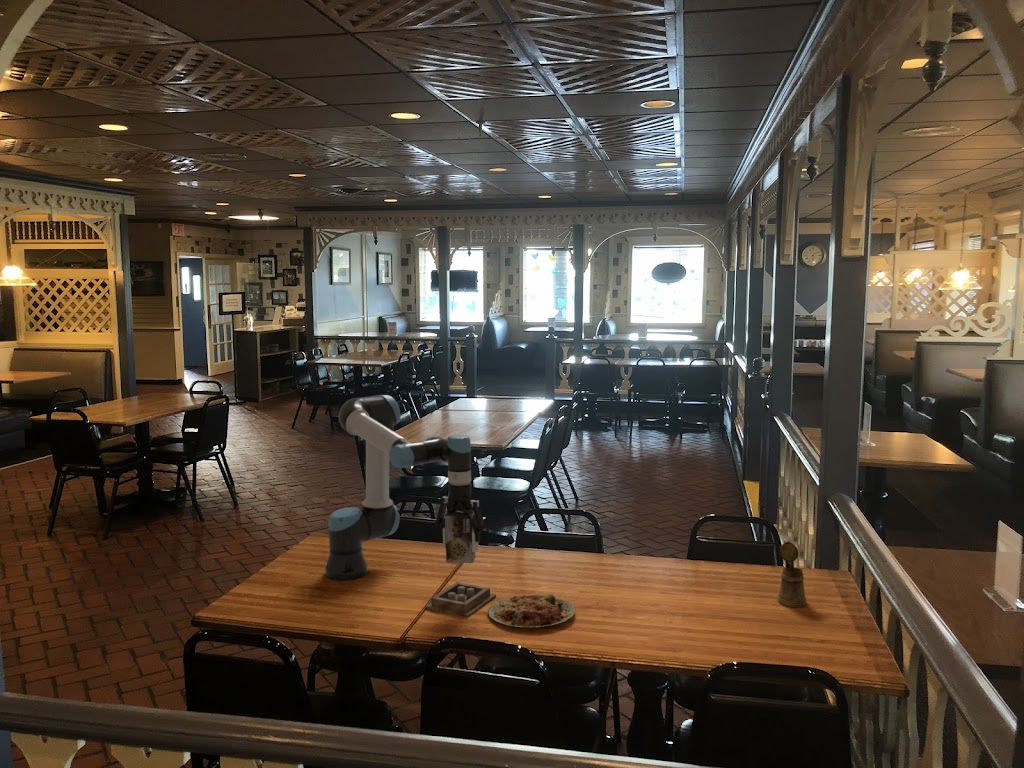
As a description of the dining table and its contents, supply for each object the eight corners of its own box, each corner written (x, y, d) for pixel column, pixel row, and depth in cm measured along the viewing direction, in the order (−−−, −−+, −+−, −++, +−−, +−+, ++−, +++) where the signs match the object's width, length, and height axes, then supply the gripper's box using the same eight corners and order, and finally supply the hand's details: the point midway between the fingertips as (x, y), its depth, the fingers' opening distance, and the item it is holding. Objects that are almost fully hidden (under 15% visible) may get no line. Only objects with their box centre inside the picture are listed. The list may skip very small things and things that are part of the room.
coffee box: (475, 557, 263) (475, 510, 261) (473, 563, 257) (472, 515, 255) (448, 556, 264) (448, 509, 262) (445, 563, 258) (444, 514, 256)
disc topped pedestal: (799, 592, 269) (801, 541, 267) (809, 608, 256) (811, 554, 254) (772, 591, 270) (774, 540, 268) (780, 607, 257) (782, 553, 255)
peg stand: (425, 608, 257) (424, 597, 257) (455, 588, 274) (455, 578, 274) (467, 617, 250) (467, 605, 250) (496, 596, 267) (496, 586, 266)
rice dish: (476, 609, 260) (475, 593, 259) (551, 592, 271) (550, 577, 270) (509, 643, 235) (508, 626, 234) (591, 623, 245) (590, 607, 245)
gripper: (423, 481, 259) (425, 547, 262) (484, 489, 249) (485, 557, 251) (436, 476, 266) (437, 540, 268) (496, 483, 255) (496, 550, 258)
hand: (460, 548), depth 260 cm, fingers closed on coffee box, 10 cm apart
